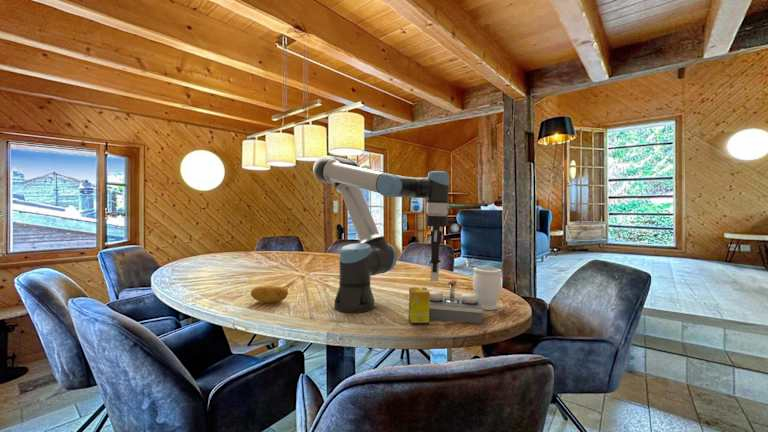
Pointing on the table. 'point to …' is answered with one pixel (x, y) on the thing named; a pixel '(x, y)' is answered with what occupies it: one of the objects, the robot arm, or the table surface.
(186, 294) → the table surface
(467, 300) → the knob right
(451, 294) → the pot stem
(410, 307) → the supplement box
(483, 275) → the white tapered cup
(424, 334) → the table surface
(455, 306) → the mount
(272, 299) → the potato
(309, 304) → the table surface
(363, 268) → the robot arm
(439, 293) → the knob left
